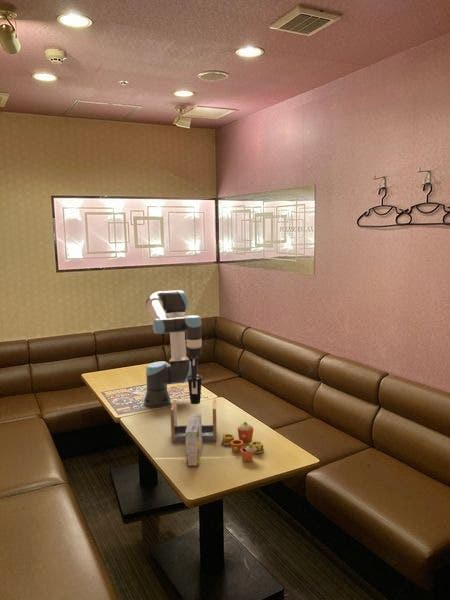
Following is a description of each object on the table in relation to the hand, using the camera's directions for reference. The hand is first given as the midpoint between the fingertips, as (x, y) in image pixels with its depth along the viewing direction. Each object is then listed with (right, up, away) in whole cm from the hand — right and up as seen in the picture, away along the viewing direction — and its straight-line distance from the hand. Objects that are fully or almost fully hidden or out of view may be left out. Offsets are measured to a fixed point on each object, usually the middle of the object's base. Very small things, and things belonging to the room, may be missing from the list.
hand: (195, 391), depth 242 cm
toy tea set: (+24, -22, -25) cm, 41 cm away
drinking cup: (0, -6, +1) cm, 6 cm away
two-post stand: (+1, -20, -11) cm, 23 cm away
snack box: (+2, -22, -31) cm, 38 cm away
